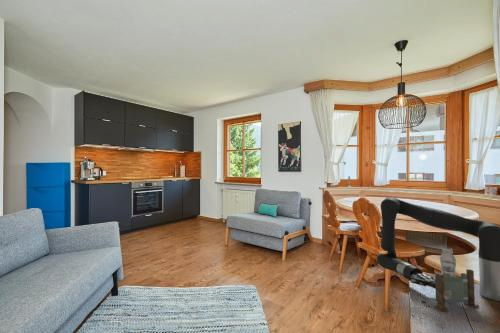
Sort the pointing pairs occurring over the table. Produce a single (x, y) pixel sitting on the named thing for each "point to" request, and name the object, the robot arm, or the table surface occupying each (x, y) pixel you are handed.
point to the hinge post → (471, 289)
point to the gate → (456, 288)
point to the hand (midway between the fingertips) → (439, 287)
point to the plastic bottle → (448, 262)
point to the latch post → (441, 293)
